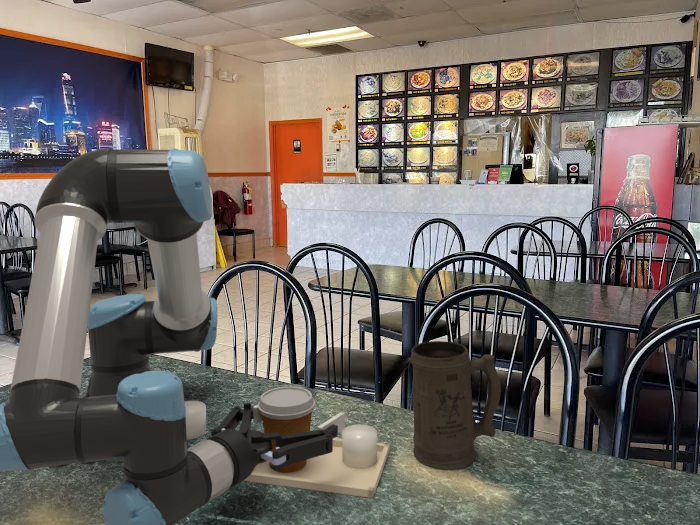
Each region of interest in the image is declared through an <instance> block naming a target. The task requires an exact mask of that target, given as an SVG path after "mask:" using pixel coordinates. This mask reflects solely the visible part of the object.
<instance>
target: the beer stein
mask: <svg viewBox="0 0 700 525" xmlns="http://www.w3.org/2000/svg"><path fill="white" fill-rule="evenodd" d="M410 353H411V354H410V356H409V359H410V360H409V361H410V362H411V365H412V386H413V387H412V388H413V390H412V391H413V439H412V440H413V455H414V458H415V459H416V461H418V462H419V464H422V465H423V466H425V467H428V468H431V469H434V470H440V471H457V470H462V469H465V468H467V467H469V466H471V465H472V464H473V463H474V461H475V458H476V451H475V444H474V442H475V440H476V439H477V437H480V436H486V437H491V438H494V437H495V434H496V427H495V425H494V424H493V419H494V416H495V413H496V411H497V408H498V406H499V403H500V397H501V393H502V388H501V387H502V386H501V380H500V376H499V374H498V371H497V369H496V366H495V356H494V355H492V354H483V355H482V356H481V357H480V358H476V359H473V360H471V357H470V354H469V350H468V348H467V347H466V346H465V345H464V344H462V343H458V342H454V341H443V340H441V341H440V340H435V341H431V340H430V341H423V342H421V343H417V344H415V345H414V346H412V348H411V351H410ZM477 371H479V372H480V371H481V372H483V373H484V374H485V376H486V380H487V388H488V389H487V390H488V391H487V396H486V404H485V407H484V410H483V414H482V416H481V419H480V421H479V422H478V423H474V412H473V411H474V410H473V397H472V396H473V395H472V394H473V393H472V383H471V382H472V381H471V377H472V374H474V373H475V372H477Z"/></svg>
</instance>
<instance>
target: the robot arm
mask: <svg viewBox="0 0 700 525" xmlns="http://www.w3.org/2000/svg"><path fill="white" fill-rule="evenodd" d="M210 188H211V186H210V179H209V174H208V168H207V166H206V162H205V160H204V158H203V156H202V155H201V153H199V152H197V151H194V150H189V149H187V150H186V149H178V148H170V149H138V148H137V149H134V148H133V149H127V148H126V149H125V148H123V149H118V148H117V149H112V148H101V149H94V150H90V151H88V152H87V151H86V152H85V153H82V154H81V155H79V156H77V157H74V158H73V159H72V160H70V161H69V162H68V163H66V164H65V165H63V167H62V168H61V169H59V170H58V172H57V173H56V174H54V176H53V177H52V178H51V180H50V181H49V182H48V183H47V185H46V187H45V188H44V190H43V191H42V193H41V196H40V198H39V200H38V203H37V206H36V211H35V214H34V221H33V222H34V226H35V228H36V230H37V231H38V232H39V238H38V242H37V248H36V253H35V258H34V264H33V269H32V274H31V278H30V279H31V280H30V285H29V289H28V291H29V292H28V296H27V300H26V304H25V305H26V307H25V312H24V316H23V321H22V327H21V332H20V336H19V338H20V339H19V343H18V349H17V354H16V360H15V364H14V369H13V370H14V371H13V375H12V380H11V385H10V394H9V396H8V400H7V402H2V403H0V472H12V471H13V472H14V471H31V470H34V469H41V468H48V467H56V466H63V465H72V464H79V463H82V464H83V463H92V462H99V461H100V462H102V461H110V460H117V459H121V460H122V470H123V480H121V481H120V482H118V483H116V484H115V485H114V486H113V487H111V488H110V489H108V490H107V492H106V493H105V496H104V500H103V502H102V513H103V519H104V521H105V524H106V525H176V524H177V523H179V522H180V521H181V520H183V519H185V518H186V517H187V516H189V515H190V514H192V513H193V512H195V511H196V510H198V509H200V508H202V507H203V506H205V505H206V504H207V503H209V502H210V501H212V500H214V499H216V498H217V497H219V496H221V495H222V494H224V493H225V492H227V491H228V490H230V489H232V488H234V487H235V486H237V485H238V484H240V483H241V482H244V481H243V480H245V479H246V478H248V477H249V476H250V475H251V473H252V471H253V470H254V468H255V467H256V465H257V464H260V463H263V462H266V461H268V462H270V463H272V467H273V470H280V469H282V468H283V467H285V466H287V465H289V464H293V463H296V462H300V461H303V460H307V459H311V458H314V457H318V456H321V455H325V454H328V453H331V452H333V438H336V437H338V435H339V433H342V431H343V430H344V429H345V428H346V413H345V412H342V411H341V412H339V413H337V414H335V415H334V416H333V417H331V418H329V419H328V420H326V421H325V422H323V423H321V424H320V425H318V426H317V429H316V430H310V431H308V432H301V433H293V434H286V435H280V433H270V434H266V433H264V432H261V431H259V430H256V429H254V430H253V429H251V428H252V423H254V424H258V423H259V422H262V415H261V413H260V410H259V409H258V404H255V405H253V406H252V403H250V402H245V403H243V409H242V408H241V406H240V405H236V406H234V407H232V409H231V410H230V411H229V412H228V414H227V415H226V416H225V417H224V419H223V420H222V421H221V423H220V424H219V425H218V426H216V427H214V428H213V429H211V430H210V437H208V438H206V439H204V440H201V441H200V442H198V443H196V444H194V445H192V446H190V447H189V448H188V442H187V441H188V440H187V436H186V407H185V404H184V402H185V396H184V386H183V382H182V380H181V378H180V377H179V376H178V375H176V374H175V373H173V372H169V371H164V370H152V367H151V365H150V357H149V355H160V354H172V353H173V354H174V353H186V352H189V353H190V352H196V353H197V352H200V351H206V350H210V349H212V348H214V347H215V344H216V340H217V333H218V332H217V327H218V302H217V300H216V298H214V297H211V296H209V295H208V294H207V293H206V291H205V290H203V288H202V279H201V278H202V277H201V268H200V257H199V246H198V245H199V244H198V235H197V234H198V233H199V231H200V230H202V228H203V226H204V223H205V222H207V221H210V220H211V218H212V215H213V203H212V193H211V189H210ZM114 223H116V224H132V223H133V224H134V227H135V229H136V231H137V232H138V234H139V235H141V237H143V238H145V239H146V242H147V247H148V250H149V256H150V261H151V266H152V271H153V275H154V276H153V277H154V282H155V286H156V291H157V296H156V298H155V299H154V300H148V301H147V298H146V296H145V294H142V293H130V294H123V295H117V296H113V297H109V298H106V299H102V300H99V301H97V302H95V303H94V304H92V305H91V300H92V291H93V290H92V289H93V283H94V274H95V266H96V256H97V248H98V241H100V240H101V239H103V237H104V236H105V234H106V232H107V227H108V224H114ZM87 333H88V334H87ZM87 335H88V340H89V341H88V342H89V354H90V356H89V357H90V365H91V367H90V368H91V373H90V377H89V381H88V385H87V387H86V388H87V389H86V391H85V392H86V393H85V396H83V397H80V393H81V392H80V391H81V385H82V378H83V367H84V360H85V351H86V344H87ZM238 426H239V428H238ZM237 428H238V430H237ZM272 440H275V447H276V449H275V450H274V451H271V450H272Z"/></svg>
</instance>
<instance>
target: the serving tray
mask: <svg viewBox="0 0 700 525" xmlns="http://www.w3.org/2000/svg"><path fill="white" fill-rule="evenodd" d="M390 446H391V445H390V443H382V442H377V462H376V464H374V465H373V466H371V467H368V468H363V469H357V468H351V467H348V466H346V465H345V464H344V463H343V461H342V438H338V437H337V438H336V437H335V438H333V452H331V453H328V454H325V455H321V456H318V457H314V458H311V459H307V462H306V465H305V466H304V467H303V468H302V469H300V470H298V471H295V472H288V473H282V472H277V471H275V470H273V469H271V467H270V465H269V462H268V461H266V462H263V463H260V464H257V465H256V467H255V468H254V470H253V471H252V473H251V475H250V476H249V477H248V478H246V479H245V480H243V481H242V482H251V483H258V484H265V485H272V486H279V487H280V486H281V487H285V488H286V487H287V488H293V489H294V488H295V489H302V490H310V491H315V492H316V491H317V492H324V493H330V494H331V493H332V494H340V495H347V496H353V497H360V498H361V497H362V498H369V499H374V498H375V495H376V491H377V488H378V485H379V483H380V481H381V476H382V473H383V471H384V468H385V465H386V462H387V459H388V456H389V454H390V449H391V448H390Z"/></svg>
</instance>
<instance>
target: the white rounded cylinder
mask: <svg viewBox="0 0 700 525" xmlns="http://www.w3.org/2000/svg"><path fill="white" fill-rule="evenodd" d="M341 439H342V461H343V463H344V464H345V465H346V466H348V467H351V468H357V469H363V468H368V467H371V466H373V465H374V464H376V462H377V443H378V431H377V429H376V428H375V427H373V426H371V425H367V424H352V425H348V426H345V429H344V430H342V431H341Z"/></svg>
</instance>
